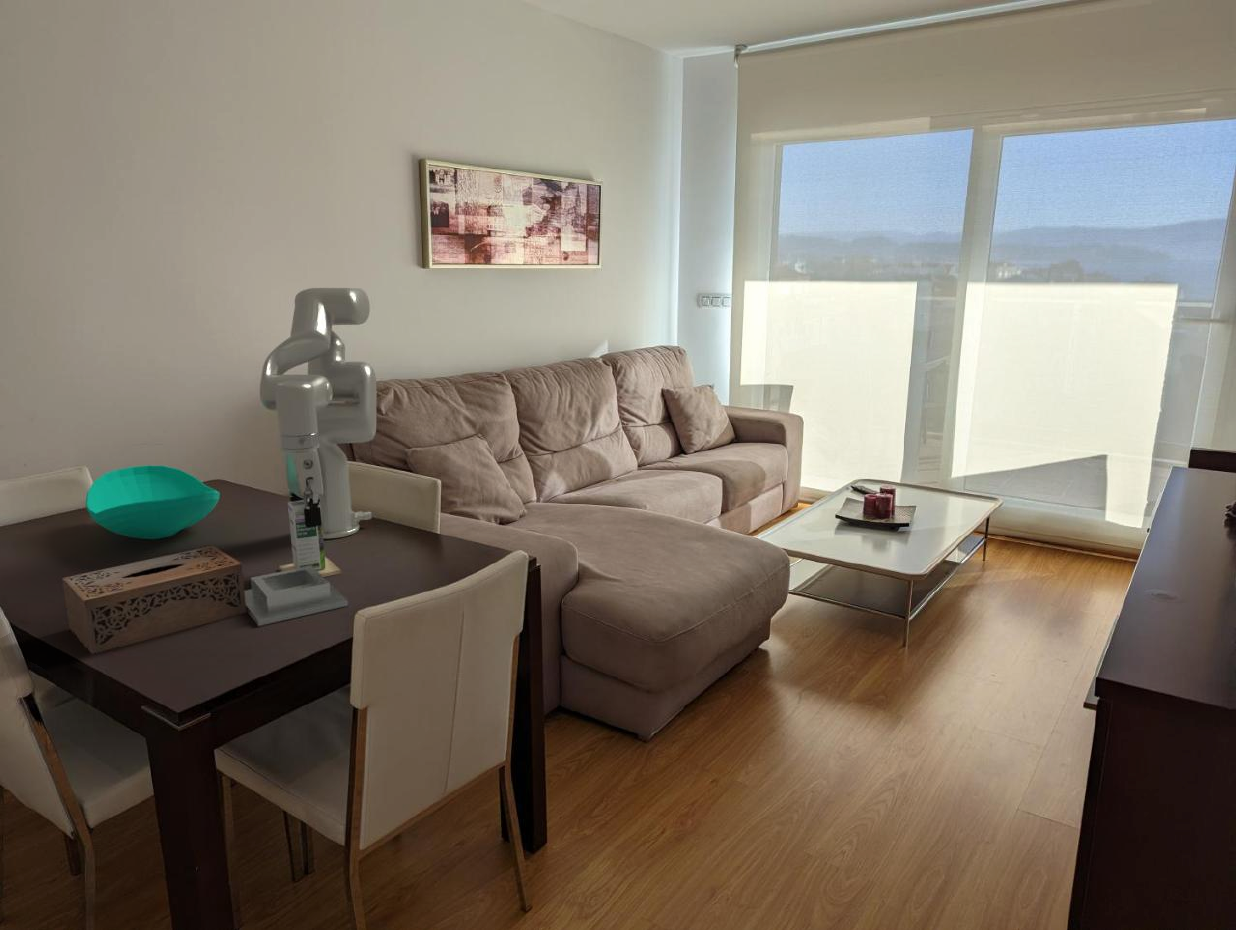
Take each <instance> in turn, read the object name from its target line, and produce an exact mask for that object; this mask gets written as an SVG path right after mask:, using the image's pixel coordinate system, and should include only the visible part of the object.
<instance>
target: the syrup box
mask: <svg viewBox="0 0 1236 930" xmlns="http://www.w3.org/2000/svg"><path fill="white" fill-rule="evenodd" d="M307 500H308V502H309V499H307ZM287 509H288V520H289V530H290V531H289V533H290V540H291V541H290V542H291V550H292V551H291V553H292V561H293V564H294V566H295V568H296V569H297V568H302V567H307V566H312V567H313V568H314V569H315V570H320V569H325V568H326V565H325V557H326V555H325V554H326V553H325V546H324V545H325V544H324V542H325V541H324V539H323V531H322V524H321V525H319V526H314V527H309V528H307V527H306V526H305V517H304V509H306V508H305V505H304V501H303V500H301V501H293V502H290V501H287ZM320 510H321V507H320ZM321 521H322V518H321Z"/></svg>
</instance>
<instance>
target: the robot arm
mask: <svg viewBox="0 0 1236 930" xmlns="http://www.w3.org/2000/svg"><path fill="white" fill-rule="evenodd" d="M370 305H371V304H370V299H369V297H368V294H367V293H366V292H365V290H364V289H362V288H351V287H311V288H306V289H302V290H301V291H299V292H298V293H297V294H296V295H295V298H294V310H293V316H292V323H291V330H290V337H288V338H286V339H285V340H284V341H282V342H281V343H280V344H279V345H277V347H275V348H274V349H273V350H272V351H271V352H270V353H269V354H268V356H267V357H266V358H265V360H264V363H263V366H262V371H261V377H260V382H259V383H260V384H259V399H260V402H261V404H262V405H263V406H264V407H265V408H266V409H268V410H269V411H276V414H277V424H278V436H279V446H280V451H282V452H284V460H285V474H286V475H285V476H286V482H287V488H288V489H289V496H290V497H289V500H290V501H289V502H293V501H301V500H303V501H304V505H305V508H306V509H304V517H305V526H306V527H307V528H309V527H314V526H319V525H321V524H322V531H323V540H324V539H325V540H326V539H339V538H344V537H348V536H350V535H354V534H356V533H357V532H358V531H359V530H360V524H359V523H360V521H368V520H371V519H372V518H373V515H372V512H371V511H362V510H361V511H359V510H358V511H356V512H355V511H354V510H352V501H351V500H352V499H351V498H352V497H351V487H350V471H349V461H348V458H347V455H346V454H345V453H344V452H343V449H341V448H340V447H339V446H338V445H337V444H340V445H341V444H360V443H368V442H371V441H372V440H373V439H374V438H375V436H376V433H377V378H376V372H375V370H374V368H373V366H372V365H370V363H367V362H364V361H346V346H345V343H344V341H343V340H342V339H341V337H339V335H338V334H337V333H336V332H335V331H334V330H333V326H352V325H354V326H357V325H358V326H360V325H363V324H364V323H366V322H367V320H368V318H369V316H370V309H371V306H370ZM303 364H307V374H285V373H287V372H288V371H290V370H291V369H293V368H296V367H298V366H302V365H303ZM330 402H332V403H330ZM333 402H335V403H333ZM337 402H339V403H337ZM340 402H342V403H340ZM343 402H344V403H343ZM345 402H347V403H345ZM348 402H349V403H348ZM351 402H352V403H351ZM353 402H354V403H353ZM308 500H309V502H308ZM320 507H321V510H320ZM321 518H322V521H321Z"/></svg>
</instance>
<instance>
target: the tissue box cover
mask: <svg viewBox="0 0 1236 930" xmlns="http://www.w3.org/2000/svg"><path fill="white" fill-rule="evenodd" d="M242 564H243V563H241V562H239V561H238V560H236V559H235V558H233V557H232V556H230V555H228V554H227V553H225V552H224V551H222V550H220V549H219V548H217V547H215V546H214V545H210V546H205V547H200V548H196V549H195V548H194V549H192V550H191V549H190V550H186V551H182V552H181V551H180V552H177V553H171V554H168V555H162V556H158V557H153V558H150V559H144V560H140V561H135V562H130V563H126V564H121V565H117V566H112V567H107V568H102V569H98V570H94V571H89V572H84V573H80V574H75V575H70V576H65V577H62V578H61V581H62V587H63V594H64V600H65V605H66V606H65V607H66V611H67V612H66V613H67V619H68V626H69V629H70V628H71V630H72V631H73V632H74V633H75V634H76V635H77V637H78V638H79V639H80V640H79V639H78V638H77V637H76V638H77V639H78V640H79V642H80V643H81V642H82V643H83V644H84V645H83V644H82V643H81V644H82V645H83V646H84V648H86V647H87V648H88V650H89V651H90V652H91V653H96V652H100V651H104V650H108V651H110V650H109V649H111V650H114V649H113V648H115V649H117V648H116V647H119V648H122V647H125V646H129V645H133V644H136V643H140V642H145V641H147V640H150V639H155V638H158V637H162V636H165V635H169V634H173V633H176V632H180V631H184V630H188V629H191V628H195V627H199V626H204V625H205V624H209V623H213V622H217V621H221V620H224V619H227V618H231V617H235V616H238V615H243V614H245V613H247V611H246V602H245V592H244V591H245V585H244V576H243V565H242ZM71 630H70V631H71ZM72 631H71V632H72ZM73 632H72V633H73ZM74 633H73V634H74ZM75 634H74V635H75ZM87 648H86V649H87ZM89 651H88V652H89ZM90 652H89V653H90ZM104 652H105V651H104ZM91 653H90V654H91ZM100 653H101V652H100Z"/></svg>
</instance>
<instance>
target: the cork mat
mask: <svg viewBox="0 0 1236 930" xmlns="http://www.w3.org/2000/svg"><path fill="white" fill-rule="evenodd" d="M325 565H326V568H325V569H320V570H316V571H317V572H318V573H320V574H321V575H322V576H323V577H324V578H325V577H330V576H335V575H341V574H342V570H341V568H339V567H338V566H337V565H336V564H335V563H334V562H332V560H330V559H329V558H327V556H325ZM278 568H279V572H282V571H287V570H292V569H296V568H295V566H294V564H293V563H289V564H283V565H279V566H278Z"/></svg>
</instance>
